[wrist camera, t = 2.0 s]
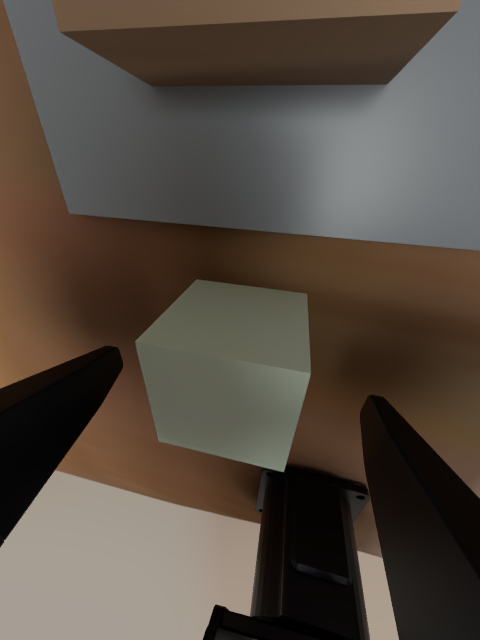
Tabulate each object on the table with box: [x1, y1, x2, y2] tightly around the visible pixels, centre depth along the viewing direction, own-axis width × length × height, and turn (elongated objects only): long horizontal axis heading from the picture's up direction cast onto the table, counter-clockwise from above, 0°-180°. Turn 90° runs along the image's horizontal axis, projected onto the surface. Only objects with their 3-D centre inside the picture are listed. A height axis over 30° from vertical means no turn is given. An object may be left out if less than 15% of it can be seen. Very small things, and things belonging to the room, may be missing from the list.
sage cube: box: [135, 279, 311, 472], centre depth 9 cm, size 4×4×4 cm
